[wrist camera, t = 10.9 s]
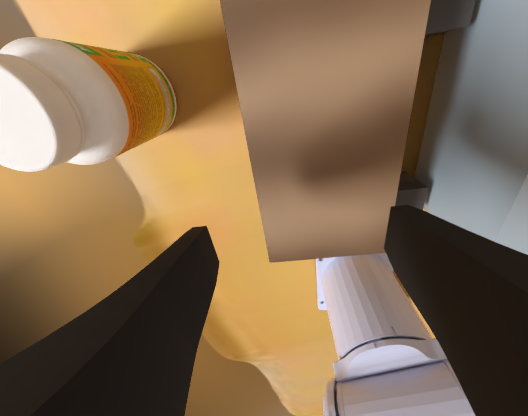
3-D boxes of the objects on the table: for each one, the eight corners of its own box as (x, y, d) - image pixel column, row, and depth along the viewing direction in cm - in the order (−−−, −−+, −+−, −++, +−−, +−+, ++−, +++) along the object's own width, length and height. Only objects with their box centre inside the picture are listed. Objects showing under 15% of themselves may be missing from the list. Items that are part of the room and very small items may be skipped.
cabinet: (468, 196, 19) (541, 240, 14) (270, 216, 21) (269, 262, 16) (560, -57, 11) (799, -171, 6) (237, 13, 13) (214, -29, 8)
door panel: (461, 190, 19) (569, 254, 12) (409, 195, 19) (485, 260, 12) (540, -42, 12) (915, -212, 5) (455, -24, 12) (688, -156, 5)
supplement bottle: (160, 44, 14) (0, -3, 6) (189, 129, 17) (106, 178, 9) (88, 62, 15) (-148, 41, 7) (126, 141, 18) (-7, 197, 9)
